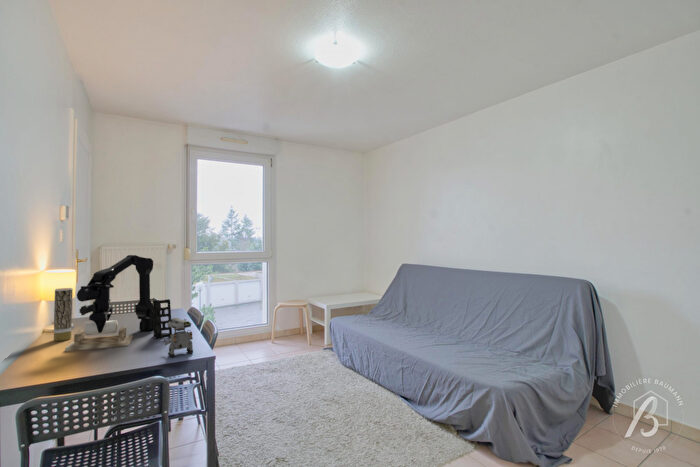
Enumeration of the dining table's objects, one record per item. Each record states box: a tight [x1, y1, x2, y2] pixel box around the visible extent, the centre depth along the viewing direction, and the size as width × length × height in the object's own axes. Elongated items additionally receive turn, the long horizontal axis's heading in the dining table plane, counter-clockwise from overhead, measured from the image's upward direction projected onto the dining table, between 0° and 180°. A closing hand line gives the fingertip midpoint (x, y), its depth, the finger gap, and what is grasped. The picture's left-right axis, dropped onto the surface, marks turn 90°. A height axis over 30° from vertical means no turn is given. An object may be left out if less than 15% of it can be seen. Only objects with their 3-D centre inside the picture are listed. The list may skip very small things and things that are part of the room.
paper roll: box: [83, 319, 119, 336], centre depth 168 cm, size 12×6×6 cm, turn 114°
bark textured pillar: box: [53, 287, 73, 342], centre depth 175 cm, size 7×7×25 cm
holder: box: [152, 297, 173, 339], centre depth 181 cm, size 11×8×20 cm
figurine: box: [163, 317, 194, 358], centre depth 156 cm, size 9×12×15 cm
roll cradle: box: [64, 326, 134, 352], centre depth 168 cm, size 24×14×6 cm, turn 114°
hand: (101, 331), depth 168 cm, fingers closed on paper roll, 6 cm apart
